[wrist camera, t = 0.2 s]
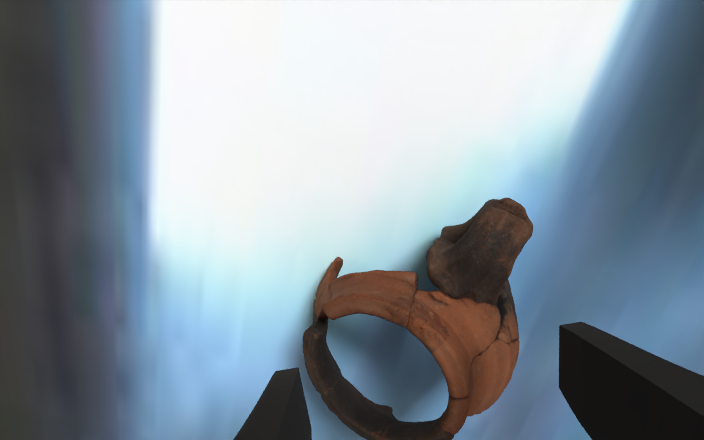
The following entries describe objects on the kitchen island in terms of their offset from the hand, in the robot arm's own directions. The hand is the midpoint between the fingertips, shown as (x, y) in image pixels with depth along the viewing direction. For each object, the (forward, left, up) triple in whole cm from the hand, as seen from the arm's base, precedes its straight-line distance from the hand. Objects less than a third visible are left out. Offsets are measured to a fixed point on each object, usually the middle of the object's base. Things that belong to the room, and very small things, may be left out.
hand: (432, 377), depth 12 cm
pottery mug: (-3, -1, -10) cm, 11 cm away
